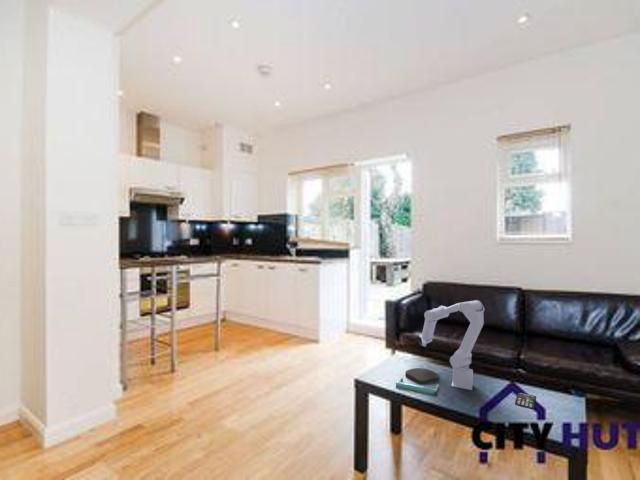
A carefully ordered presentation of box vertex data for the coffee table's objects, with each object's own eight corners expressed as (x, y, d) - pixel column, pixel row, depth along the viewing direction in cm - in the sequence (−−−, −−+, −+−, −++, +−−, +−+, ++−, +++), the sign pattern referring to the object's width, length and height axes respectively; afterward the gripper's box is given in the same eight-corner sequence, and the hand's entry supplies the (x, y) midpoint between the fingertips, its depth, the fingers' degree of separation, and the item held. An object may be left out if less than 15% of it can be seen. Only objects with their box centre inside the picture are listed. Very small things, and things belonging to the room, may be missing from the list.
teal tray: (438, 387, 172) (438, 382, 172) (435, 395, 163) (435, 390, 163) (400, 379, 180) (400, 375, 180) (395, 387, 171) (395, 382, 171)
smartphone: (536, 396, 162) (534, 408, 149) (536, 397, 162) (534, 410, 149) (518, 391, 166) (514, 404, 154) (518, 393, 166) (514, 405, 154)
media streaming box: (402, 375, 187) (402, 370, 187) (423, 371, 193) (423, 365, 193) (420, 386, 173) (420, 380, 173) (442, 381, 180) (442, 375, 180)
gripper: (423, 323, 198) (418, 344, 201) (418, 333, 185) (413, 355, 188) (436, 327, 195) (430, 349, 198) (431, 337, 182) (426, 360, 185)
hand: (423, 352), depth 193 cm, fingers open, 7 cm apart
